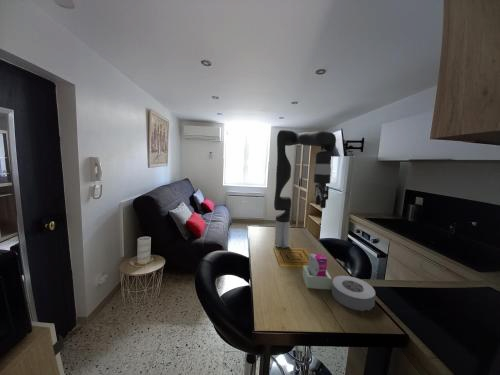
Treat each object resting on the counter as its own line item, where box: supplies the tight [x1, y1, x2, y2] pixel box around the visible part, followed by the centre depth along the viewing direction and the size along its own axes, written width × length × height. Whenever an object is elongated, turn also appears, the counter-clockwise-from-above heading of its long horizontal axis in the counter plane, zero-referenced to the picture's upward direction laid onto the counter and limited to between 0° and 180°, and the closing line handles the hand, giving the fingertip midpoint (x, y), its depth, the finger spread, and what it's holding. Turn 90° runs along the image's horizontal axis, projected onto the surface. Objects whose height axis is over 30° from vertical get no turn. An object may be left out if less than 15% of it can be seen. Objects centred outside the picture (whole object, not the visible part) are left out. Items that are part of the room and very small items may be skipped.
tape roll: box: [331, 275, 377, 312], centre depth 77 cm, size 15×15×5 cm
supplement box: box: [307, 253, 328, 277], centre depth 86 cm, size 6×6×12 cm
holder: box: [302, 265, 333, 291], centre depth 87 cm, size 10×10×5 cm
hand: (320, 206), depth 95 cm, fingers open, 8 cm apart
